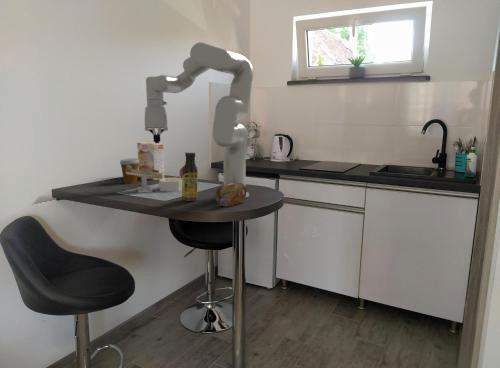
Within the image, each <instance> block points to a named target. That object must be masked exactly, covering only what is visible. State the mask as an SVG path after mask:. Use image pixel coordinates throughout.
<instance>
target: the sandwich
mask: <svg viewBox="0 0 500 368" xmlns="http://www.w3.org/2000/svg"><path fill="white" fill-rule="evenodd" d="M246 192H247V187H246V185H245V186H244V185H243V184H242V183H232V184H227V185H224V184H221V185H220V186H219V187H218V188H217V189H216V191H215V200H216V203H217V204H218V205H219V206H221V207H225V208H226V206H228V207H231V205H232V206H235V204H236V205H238V204H239V203H240V204H243V202H244V201H245V200H246V198H247V197H246ZM245 197H246V198H245Z"/></svg>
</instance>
